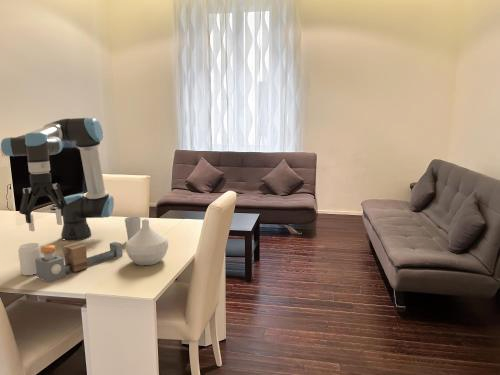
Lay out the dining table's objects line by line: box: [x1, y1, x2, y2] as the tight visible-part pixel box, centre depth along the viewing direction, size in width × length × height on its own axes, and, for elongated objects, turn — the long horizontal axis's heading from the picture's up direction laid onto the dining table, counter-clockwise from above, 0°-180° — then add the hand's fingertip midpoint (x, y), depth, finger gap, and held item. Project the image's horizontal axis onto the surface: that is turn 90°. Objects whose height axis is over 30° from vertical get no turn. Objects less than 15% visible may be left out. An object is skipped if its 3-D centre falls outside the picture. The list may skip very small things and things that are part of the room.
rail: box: [64, 241, 123, 275], centre depth 181 cm, size 5×29×6 cm, turn 143°
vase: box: [124, 218, 169, 266], centre depth 182 cm, size 18×18×19 cm
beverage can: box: [18, 242, 42, 276], centre depth 172 cm, size 8×8×12 cm
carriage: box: [62, 242, 89, 273], centre depth 176 cm, size 7×6×10 cm
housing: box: [35, 254, 66, 283], centre depth 167 cm, size 9×7×8 cm
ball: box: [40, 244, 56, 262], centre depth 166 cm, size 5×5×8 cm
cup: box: [124, 216, 141, 241], centre depth 215 cm, size 8×8×12 cm
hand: (46, 227), depth 164 cm, fingers open, 10 cm apart
